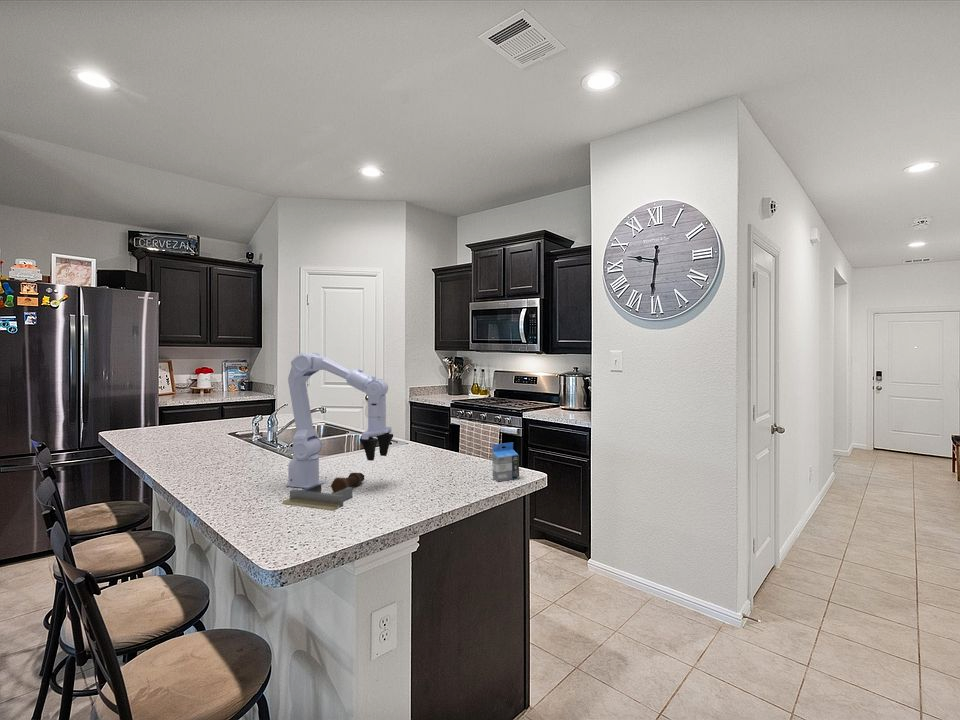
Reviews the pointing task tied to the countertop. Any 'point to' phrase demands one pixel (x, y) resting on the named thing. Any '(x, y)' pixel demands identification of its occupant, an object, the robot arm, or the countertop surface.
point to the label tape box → (505, 462)
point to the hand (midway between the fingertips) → (377, 457)
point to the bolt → (347, 481)
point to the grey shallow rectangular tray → (318, 498)
